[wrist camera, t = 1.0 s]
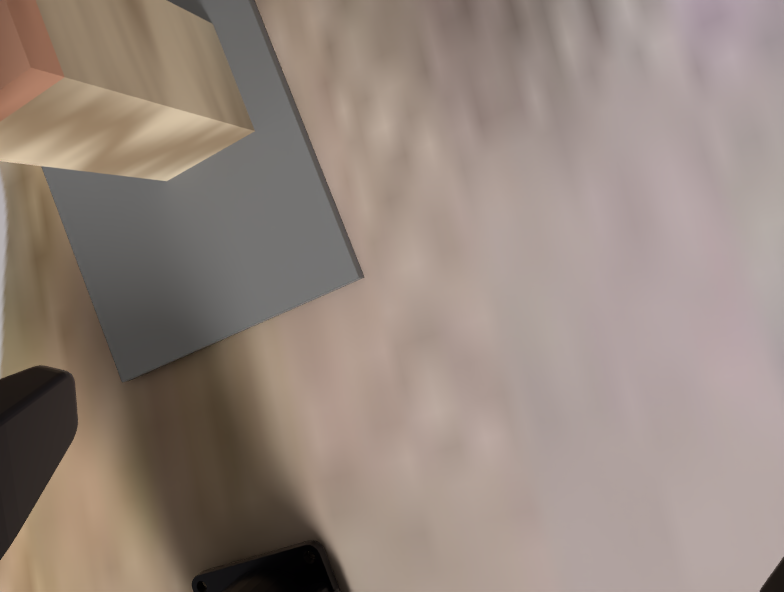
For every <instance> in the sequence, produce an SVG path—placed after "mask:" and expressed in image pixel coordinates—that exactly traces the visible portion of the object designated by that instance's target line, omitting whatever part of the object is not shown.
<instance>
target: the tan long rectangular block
mask: <svg viewBox="0 0 784 592" xmlns="http://www.w3.org/2000/svg"><path fill="white" fill-rule="evenodd" d="M254 131H255V130H254V127H253V125H252V122H251V120H250V117H249V115H248V112H247V109H246V107H245V104H244V102H243V99H242V97H241V94H240V92H239V89H238V87H237V84H236V81H235V79H234V76H233V74H232V71H231V69H230V66H229V64H228V61H227V59H226V56H225V53H224V51H223V48H222V46H221V43H220V41H219V38H218V36H217V33H216V31H215V28H214V25H213V24H212V23H210V22H208V21H206V20H204V19H202V18H200V17H198V16H196V15H194V14H192V13H190V12H189V11H187V10H185V9H183V8H181V7H179V6H177V5H175V4H173V3H171V2H169V1H167V0H0V161H3V162H12V163H20V164H28V165H36V166H45V167H53V168H61V169H70V170H78V171H86V172H94V173H103V174H111V175H119V176H127V177H136V178H144V179H152V180H160V181H168V180H170V179H172V178H173V177H175V176H177V175H179V174H180V173H182V172H184V171H186V170H187V169H189V168H191V167H193V166H195V165H196V164H198V163H200V162H202V161H203V160H205V159H207V158H209V157H210V156H212V155H214V154H216V153H217V152H219V151H221V150H223V149H224V148H226V147H228V146H230V145H232V144H233V143H235V142H237V141H239V140H240V139H242V138H244V137H246V136H247V135H249V134H251V133H253V132H254Z"/></svg>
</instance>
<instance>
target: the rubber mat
mask: <svg viewBox="0 0 784 592" xmlns="http://www.w3.org/2000/svg"><path fill="white" fill-rule="evenodd" d="M167 1H169V2H171V3H173V4H175V5H177V6H179V7H181V8H183V9H185V10H187V11H189V12H190V13H192V14H194V15H196V16H198V17H200V18H202V19H204V20H206V21H208V22H210V23H212V24H213V25H214V28H215V31H216V33H217V36H218V38H219V41H220V43H221V46H222V48H223V51H224V53H225V56H226V59H227V61H228V64H229V66H230V69H231V71H232V74H233V76H234V79H235V81H236V84H237V87H238V89H239V92H240V94H241V97H242V99H243V102H244V104H245V107H246V109H247V112H248V115H249V117H250V120H251V122H252V125H253V127H254V130H255V131H254V132H253V133H251V134H249V135H247V136H246V137H244V138H242V139H240V140H239V141H237V142H235V143H233V144H232V145H230V146H228V147H226V148H224V149H223V150H221V151H219V152H217V153H216V154H214V155H212V156H210V157H209V158H207V159H205V160H203V161H202V162H200V163H198V164H196V165H195V166H193V167H191V168H189V169H187V170H186V171H184V172H182V173H180V174H179V175H177V176H175V177H173V178H172V179H170V180H168V181H160V180H152V179H144V178H136V177H127V176H119V175H111V174H103V173H94V172H86V171H78V170H70V169H61V168H53V167H45V166H41V167H42V169H43V172H44V175H45V177H46V180H47V183H48V185H49V188H50V191H51V193H52V196H53V199H54V201H55V204H56V207H57V209H58V212H59V215H60V217H61V220H62V223H63V225H64V228H65V231H66V233H67V236H68V239H69V241H70V244H71V247H72V250H73V252H74V255H75V258H76V260H77V263H78V266H79V268H80V271H81V274H82V276H83V279H84V282H85V284H86V287H87V290H88V292H89V295H90V298H91V300H92V303H93V306H94V308H95V311H96V314H97V316H98V319H99V322H100V324H101V327H102V330H103V332H104V335H105V338H106V340H107V343H108V346H109V348H110V351H111V354H112V357H113V359H114V362H115V365H116V367H117V370H118V373H119V375H120V378H121V381H122V382H125V381H129V380H132V379H134V378H136V377H139V376H141V375H143V374H145V373H148V372H150V371H152V370H155V369H157V368H159V367H161V366H164V365H166V364H168V363H170V362H173V361H175V360H177V359H180V358H182V357H184V356H186V355H189V354H191V353H193V352H195V351H198V350H200V349H202V348H205V347H207V346H209V345H211V344H214V343H216V342H218V341H221V340H223V339H225V338H227V337H230V336H232V335H234V334H236V333H239V332H241V331H243V330H246V329H248V328H250V327H252V326H255V325H257V324H259V323H262V322H264V321H266V320H268V319H271V318H273V317H275V316H277V315H280V314H282V313H284V312H287V311H289V310H291V309H293V308H296V307H298V306H300V305H303V304H305V303H307V302H309V301H312V300H314V299H316V298H318V297H321V296H323V295H325V294H328V293H330V292H332V291H334V290H337V289H339V288H341V287H344V286H346V285H348V284H350V283H353V282H355V281H357V280H359V279H362V278H364V275H363V273H362V270H361V268H360V265H359V263H358V260H357V258H356V255H355V253H354V250H353V248H352V245H351V243H350V240H349V238H348V235H347V233H346V230H345V228H344V225H343V223H342V220H341V218H340V215H339V213H338V210H337V207H336V205H335V202H334V200H333V197H332V195H331V192H330V190H329V187H328V185H327V182H326V180H325V177H324V175H323V172H322V170H321V167H320V165H319V162H318V160H317V157H316V155H315V152H314V150H313V147H312V145H311V142H310V139H309V137H308V134H307V132H306V129H305V127H304V124H303V122H302V119H301V117H300V114H299V112H298V109H297V107H296V104H295V102H294V99H293V97H292V94H291V92H290V89H289V87H288V84H287V82H286V79H285V77H284V74H283V72H282V69H281V66H280V64H279V61H278V59H277V56H276V54H275V51H274V49H273V46H272V44H271V41H270V39H269V36H268V34H267V31H266V29H265V26H264V24H263V21H262V19H261V16H260V14H259V11H258V9H257V6H256V4H255V1H254V0H167Z"/></svg>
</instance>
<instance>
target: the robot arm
mask: <svg viewBox="0 0 784 592" xmlns="http://www.w3.org/2000/svg"><path fill="white" fill-rule="evenodd" d="M77 426H78V415H77V402H76V389H75V380H74V377H73V376H72V374H71V373H69V372H68V371H64V370H60V369H56V368H52V367H48V366H41V365H39V366H34V367H31V368H29V369H26V370H23V371H21V372H18V373H15V374H13V375H10V376H7V377H5V378H2V379H0V560H1V558H2V557H3V556H4V554H5V553H6V551H7V550H8V548H9V547H10V545H11V544H12V542H13V541H14V539H15V537H16V536H17V534H18V533H19V531H20V529H21V528H22V526H23V524H24V523H25V521H26V519H27V518H28V516H29V514H30V513H31V511H32V509H33V507H34V506H35V504H36V502H37V501H38V499H39V497H40V495H41V494H42V492H43V490H44V489H45V487H46V485H47V484H48V482H49V480H50V478H51V477H52V475H53V473H54V472H55V470H56V468H57V466H58V465H59V463H60V461H61V460H62V458H63V456H64V455H65V453H66V451H67V449H68V448H69V446H70V444H71V443H72V441H73V439H74V436H75V434H76V431H77ZM308 551H311V552H313V554H314V555H315V559H313V558H311V557H310V555H309V553H308ZM203 582H204V583H205V584H206V586H207V588H206V587H205V586H204V585H203ZM192 588H193V592H341V591H340V589H339V586H338V583H337V581H336V578H335V576H334V573H333V570H332V568H331V565H330V563H329V560H328V557H327V555H326V552H325V550H324V548H323V546H322V545H321V544H320V543H319V542H317V541H314V540H313V541H307V542H303V543H300V544H296V545H293V546H289V547H286V548H282V549H279V550H275V551H272V552H268V553H265V554H261V555H258V556H254V557H251V558H247V559H244V560H240V561H237V562H233V563H230V564H226V565H223V566H219V567H216V568H212V569H209V570H205V571H203V572H201V573H199V574H198V575H197V576H196V577H194V579H193V581H192ZM760 592H784V557H783V558H782V560H781V561H780V563H779V564H778V565H777V567H776V568H775V569H774V571H773V572H772V574H771V575H770V576H769V578H768V579H767V581H766V582H765V583H764V585H763V586H762V588H761V590H760Z"/></svg>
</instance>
